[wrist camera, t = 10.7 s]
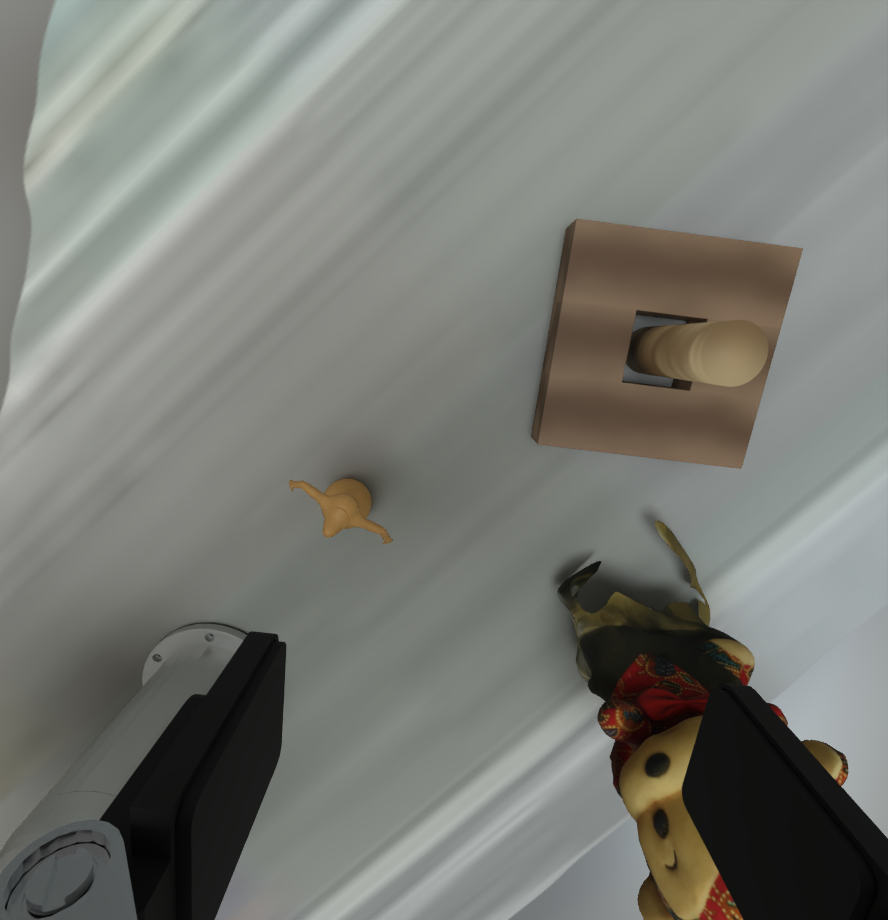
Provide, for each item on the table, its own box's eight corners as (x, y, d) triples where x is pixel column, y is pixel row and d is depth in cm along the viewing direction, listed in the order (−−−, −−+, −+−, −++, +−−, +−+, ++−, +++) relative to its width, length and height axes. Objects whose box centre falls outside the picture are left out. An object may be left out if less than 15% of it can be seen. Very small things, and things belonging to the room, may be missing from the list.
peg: (663, 376, 38) (758, 390, 27) (619, 370, 38) (694, 382, 27) (674, 330, 37) (776, 324, 26) (628, 324, 37) (711, 315, 26)
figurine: (298, 489, 41) (238, 547, 29) (332, 430, 40) (284, 467, 28) (381, 537, 42) (356, 613, 30) (417, 482, 41) (405, 538, 29)
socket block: (719, 459, 40) (741, 468, 37) (531, 436, 40) (537, 444, 37) (774, 256, 36) (803, 248, 33) (566, 228, 36) (576, 218, 33)
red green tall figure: (760, 549, 40) (1116, 967, 18) (655, 673, 48) (814, 1072, 26) (598, 496, 38) (774, 886, 16) (516, 633, 46) (559, 1025, 24)
